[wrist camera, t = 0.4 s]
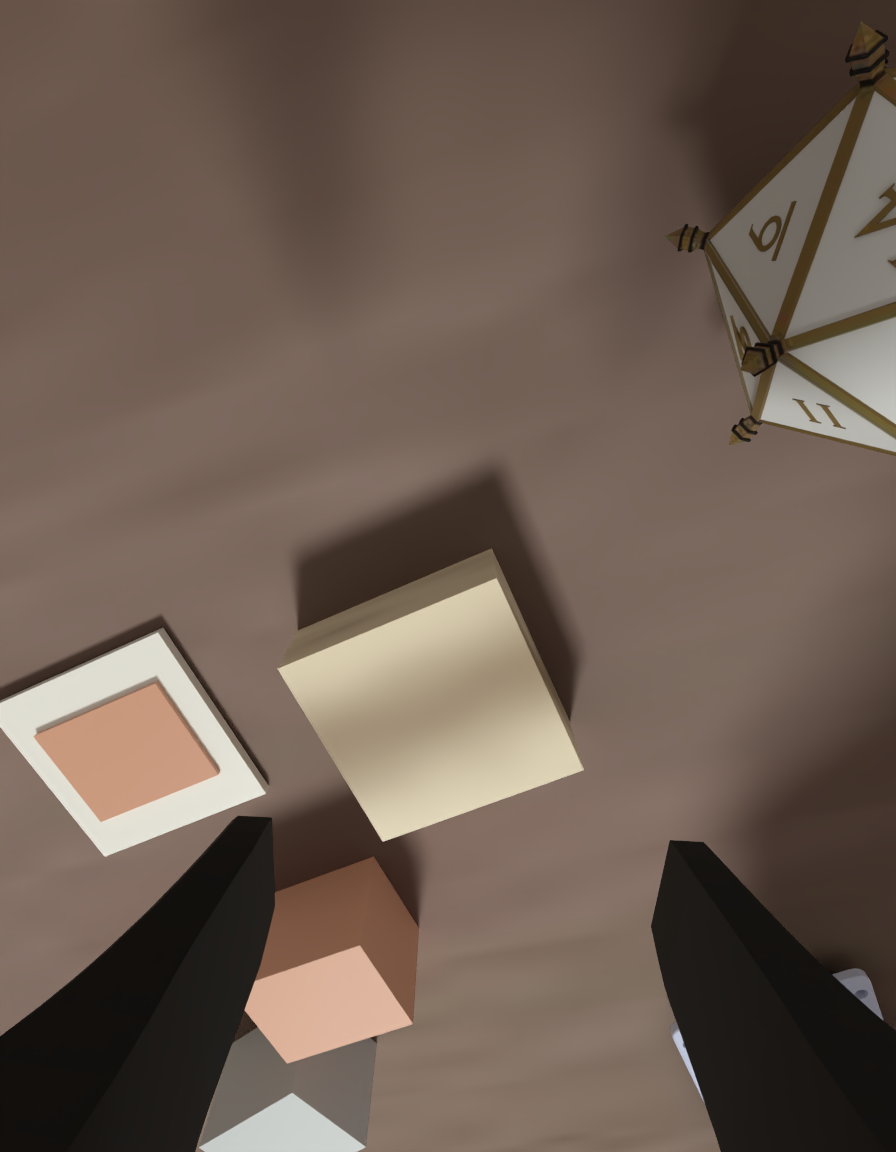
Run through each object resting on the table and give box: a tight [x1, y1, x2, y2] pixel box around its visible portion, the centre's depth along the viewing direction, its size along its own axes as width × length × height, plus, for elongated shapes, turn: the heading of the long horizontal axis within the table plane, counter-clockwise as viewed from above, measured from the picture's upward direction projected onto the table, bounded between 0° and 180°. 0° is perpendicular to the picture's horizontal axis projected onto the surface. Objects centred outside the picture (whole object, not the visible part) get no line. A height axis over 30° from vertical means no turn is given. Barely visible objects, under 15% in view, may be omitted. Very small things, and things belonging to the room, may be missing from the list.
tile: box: [0, 628, 269, 856], centre depth 23 cm, size 7×7×1 cm
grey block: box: [199, 1027, 377, 1152], centre depth 27 cm, size 4×5×4 cm
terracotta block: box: [245, 856, 419, 1064], centre depth 24 cm, size 4×5×4 cm
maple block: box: [278, 548, 584, 842], centre depth 21 cm, size 7×7×3 cm
